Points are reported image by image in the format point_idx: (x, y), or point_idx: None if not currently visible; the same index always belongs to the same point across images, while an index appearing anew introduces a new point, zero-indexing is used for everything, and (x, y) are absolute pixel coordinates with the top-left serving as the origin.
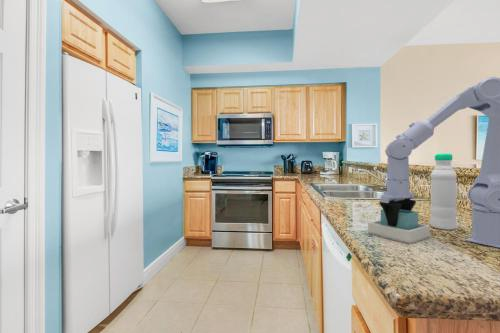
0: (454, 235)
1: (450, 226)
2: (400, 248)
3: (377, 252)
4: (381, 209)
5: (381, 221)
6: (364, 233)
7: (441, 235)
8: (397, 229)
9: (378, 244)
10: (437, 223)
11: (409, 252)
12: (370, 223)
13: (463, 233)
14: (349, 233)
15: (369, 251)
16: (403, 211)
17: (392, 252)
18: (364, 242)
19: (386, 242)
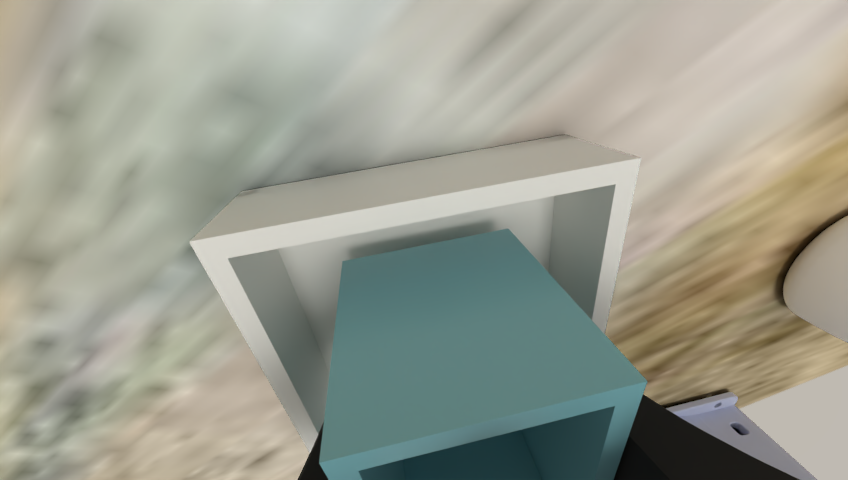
0: (678, 363)
1: (808, 321)
2: (239, 443)
3: (57, 467)
4: (336, 461)
5: (339, 316)
6: (208, 170)
7: (636, 351)
8: (311, 448)
9: (149, 390)
10: (825, 287)
11: (240, 476)
12: (209, 265)
13: (745, 352)
14: (10, 104)
15: (9, 455)
16: (576, 476)
17: (150, 471)
18: (58, 349)
19: (234, 375)
